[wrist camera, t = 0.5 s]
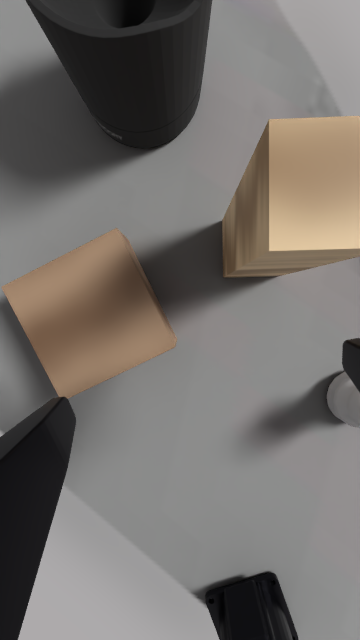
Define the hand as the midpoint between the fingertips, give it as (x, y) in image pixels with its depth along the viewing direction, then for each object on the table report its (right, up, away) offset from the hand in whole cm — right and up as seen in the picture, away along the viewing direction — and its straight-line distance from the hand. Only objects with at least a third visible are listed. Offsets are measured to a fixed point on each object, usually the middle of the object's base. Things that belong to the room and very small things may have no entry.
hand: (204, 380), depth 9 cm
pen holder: (-4, +20, +13) cm, 24 cm away
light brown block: (-7, +2, +14) cm, 16 cm away
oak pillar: (+5, +8, +13) cm, 16 cm away
